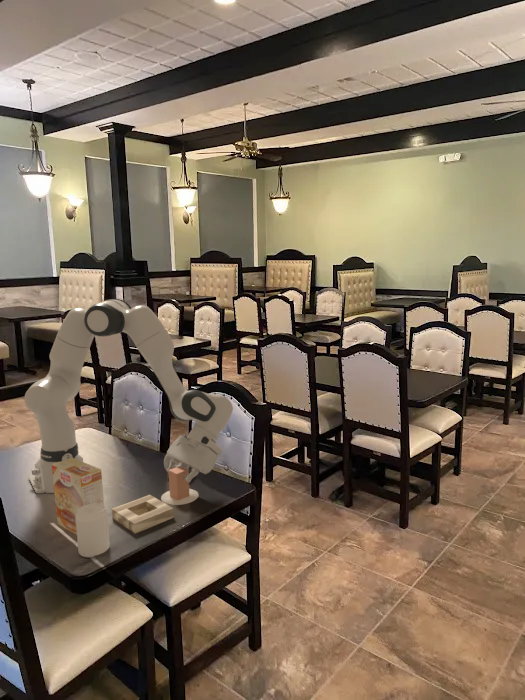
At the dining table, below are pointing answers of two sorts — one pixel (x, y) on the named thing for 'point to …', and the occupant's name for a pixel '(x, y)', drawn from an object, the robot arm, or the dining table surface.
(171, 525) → the dining table surface
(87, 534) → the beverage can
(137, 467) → the dining table surface
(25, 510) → the dining table surface
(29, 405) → the robot arm
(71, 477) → the coffeecake box
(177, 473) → the block
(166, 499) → the cream oval shape
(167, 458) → the donut
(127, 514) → the holder
